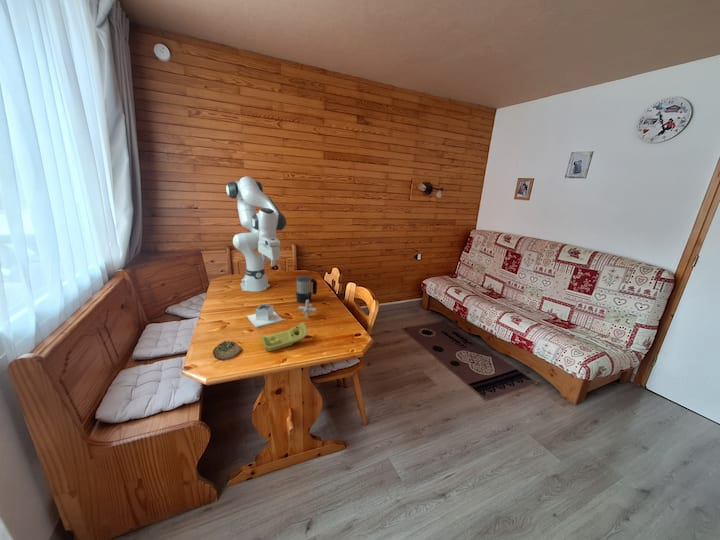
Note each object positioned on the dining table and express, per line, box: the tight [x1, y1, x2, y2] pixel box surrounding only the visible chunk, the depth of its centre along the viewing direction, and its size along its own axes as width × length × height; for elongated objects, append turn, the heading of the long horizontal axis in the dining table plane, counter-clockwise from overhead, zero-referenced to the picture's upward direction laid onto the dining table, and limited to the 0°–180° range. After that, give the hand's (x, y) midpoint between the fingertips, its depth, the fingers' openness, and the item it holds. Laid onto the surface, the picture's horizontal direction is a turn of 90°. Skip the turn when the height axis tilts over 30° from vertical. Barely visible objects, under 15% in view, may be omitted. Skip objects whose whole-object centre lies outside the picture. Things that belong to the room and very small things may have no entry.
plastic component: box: [260, 322, 308, 352], centre depth 127 cm, size 20×7×10 cm
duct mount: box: [247, 308, 284, 329], centre depth 147 cm, size 14×14×6 cm
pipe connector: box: [297, 300, 317, 319], centre depth 151 cm, size 10×10×10 cm
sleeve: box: [255, 303, 274, 321], centre depth 147 cm, size 7×7×6 cm
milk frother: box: [295, 275, 318, 304], centre depth 176 cm, size 14×16×15 cm
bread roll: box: [212, 340, 242, 361], centre depth 117 cm, size 11×11×5 cm
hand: (268, 263), depth 153 cm, fingers open, 8 cm apart
